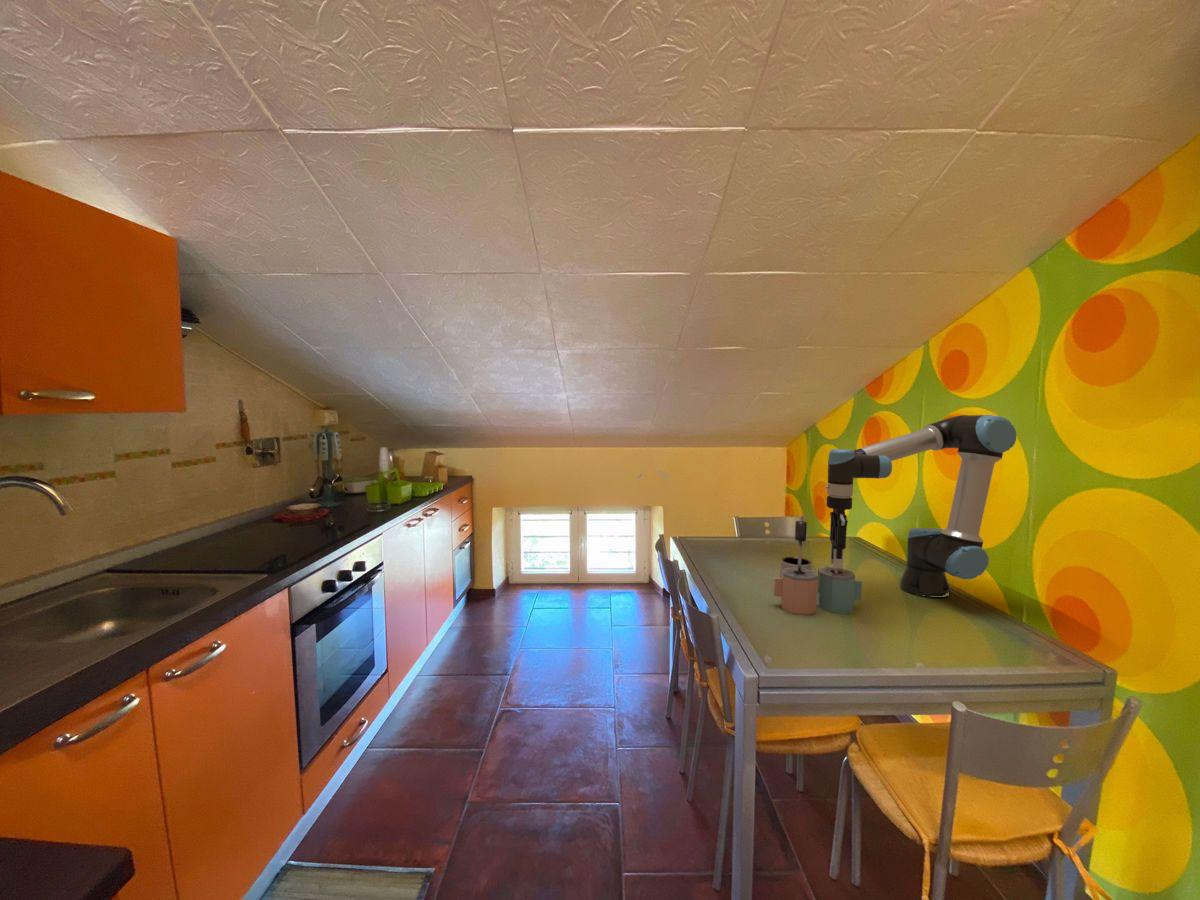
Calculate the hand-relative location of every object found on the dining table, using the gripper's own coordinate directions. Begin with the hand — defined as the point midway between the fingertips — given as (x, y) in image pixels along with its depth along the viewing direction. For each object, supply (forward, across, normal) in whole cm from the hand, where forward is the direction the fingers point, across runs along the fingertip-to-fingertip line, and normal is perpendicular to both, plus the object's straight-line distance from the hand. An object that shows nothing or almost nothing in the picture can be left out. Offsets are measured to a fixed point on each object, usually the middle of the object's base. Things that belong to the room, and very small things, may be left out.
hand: (836, 565), depth 158 cm
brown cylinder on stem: (+5, +4, -12) cm, 14 cm away
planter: (+14, -18, -10) cm, 25 cm away
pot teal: (+14, 0, +1) cm, 14 cm away
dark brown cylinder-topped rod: (+11, 0, 0) cm, 11 cm away
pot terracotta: (+14, +4, -13) cm, 20 cm away
